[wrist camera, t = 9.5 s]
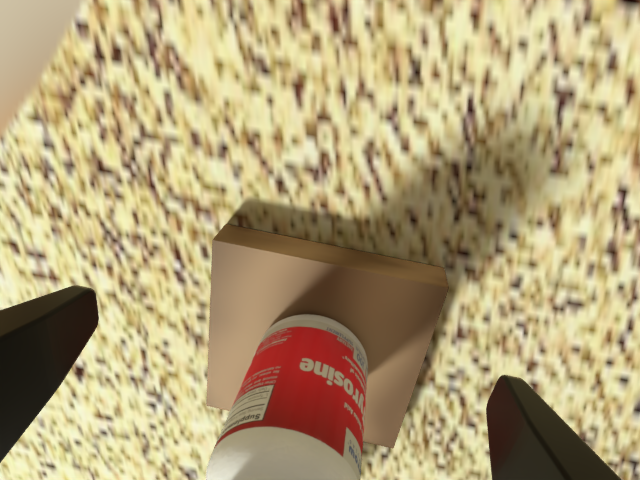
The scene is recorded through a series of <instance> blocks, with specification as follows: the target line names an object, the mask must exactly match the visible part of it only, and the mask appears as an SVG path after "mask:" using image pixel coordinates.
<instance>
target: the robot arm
mask: <svg viewBox="0 0 640 480" xmlns="http://www.w3.org/2000/svg"><path fill="white" fill-rule="evenodd" d="M98 320H99V316H98V308H97V299H96V293H95V291H94V290H93V289H91V288H87V287H82V286H71V287H68V288H65V289H62V290H59V291H56V292H53V293H50V294H47V295H44V296H41V297H39V298H36V299H33V300H30V301H27V302H24V303H21V304H18V305H15V306H12V307H9V308H6V309H3V310H0V462H1V461H2V460H3V459H4V457H5V456H6V455H7V453H8V452H9V451H10V450H11V448H12V447H13V446H14V444H15V443H16V442H17V441H18V439H19V438H20V437H21V435H22V434H23V433H24V432H25V430H26V429H27V428H28V426H29V425H30V424H31V423H32V421H33V420H34V419H35V417H36V416H37V415H38V414H39V412H40V411H41V410H42V408H43V407H44V406H45V405H46V403H47V402H48V401H49V399H50V398H51V397H52V396H53V394H54V393H55V392H56V390H57V389H58V387H59V386H60V385H61V383H62V382H63V380H64V379H65V377H66V376H67V374H68V372H69V371H70V369H71V368H72V366H73V364H74V363H75V361H76V360H77V358H78V356H79V355H80V353H81V352H82V350H83V348H84V347H85V345H86V344H87V342H88V340H89V339H90V337H91V336H92V334H93V333H94V331H95V329H96V327H97V325H98ZM486 415H487V426H488V438H489V449H490V461H491V472H492V480H621V479H620V478H619V477H618V476H617V475H616V474H615V473H614V472H613V471H612V470H611V468H610V467H609V466H608V465H607V464H606V463H605V462H604V461H603V460H602V459H601V458H600V457H599V456H598V455H597V454H596V453H595V452H594V451H593V450H592V449H591V448H590V447H589V446H588V445H587V444H586V443H585V442H584V441H583V440H582V439H581V438H580V437H579V436H578V435H577V434H576V433H575V432H574V431H573V430H572V429H571V428H570V427H569V426H568V425H567V424H566V423H565V422H564V421H563V420H562V419H561V418H560V417H559V416H558V415H557V414H556V413H555V411H554V410H553V409H552V408H551V407H550V406H549V405H548V404H547V403H546V402H545V401H544V400H543V399H542V398H541V397H540V396H539V395H538V394H537V393H536V392H535V391H534V390H533V389H532V388H531V387H530V386H529V385H528V384H527V383H526V382H525V381H524V380H523V379H521V378H517V377H512V376H508V375H502V376H501V377H499V379H498V381H497V383H496V385H495V387H494V389H493V391H492V394H491V396H490V398H489V400H488V403H487V408H486Z"/></svg>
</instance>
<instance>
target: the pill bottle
mask: <svg viewBox="0 0 640 480" xmlns="http://www.w3.org/2000/svg"><path fill="white" fill-rule="evenodd" d="M367 375H368V363H367V356H366V353H365V350H364V348H363V346H362V344H361V343H360V341H359V340H358V338H357V337H356V336H355V335H354V334H353V333H352V332H351V331H350V330H349V329H348V328H346V327H345V326H343V325H342V324H340V323H338V322H337V321H335V320H332V319H330V318H327V317H324V316H320V315H310V314H303V315H295V316H291V317H287V318H285V319H282V320H280V321H278V322H277V323H275V324H274V325H273V326H271V327H270V328H269V329H268V330H267V331H266V333H265V334H264V336H263V337H262V339H261V341H260V343H259V345H258V347H257V350H256V352H255V354H254V357H253V359H252V362H251V364H250V366H249V368H248V371H247V373H246V375H245V378H244V380H243V382H242V385H241V387H240V389H239V392H238V394H237V396H236V399H235V401H234V403H233V406H232V408H231V410H230V413H229V415H228V418H227V420H226V422H225V425H224V427H223V429H222V431H221V434H220V436H219V439H218V441H217V443H216V445H215V447H214V450H213V452H212V454H211V458H210V460H209V463H208V466H207V471H206V480H360V475H361V461H362V448H363V434H364V419H365V406H366V390H367Z"/></svg>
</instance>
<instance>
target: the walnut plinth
mask: <svg viewBox="0 0 640 480" xmlns="http://www.w3.org/2000/svg"><path fill="white" fill-rule="evenodd" d="M448 289H449V287H448V282H447V278H446V274H445V270H444V268H442V267H437V266H432V265H427V264H422V263H417V262H412V261H407V260H402V259H397V258H393V257H388V256H383V255H378V254H373V253H368V252H363V251H358V250H353V249H348V248H343V247H338V246H333V245H328V244H323V243H318V242H313V241H308V240H303V239H298V238H293V237H288V236H283V235H278V234H273V233H268V232H263V231H258V230H253V229H248V228H243V227H238V226H234V225H229V224H226V225H225V226H224V227H223V228H222V229H221V231H220V232H219V233H218V234H217V235H216V236H215V238H214V239H213V242H212V269H211V297H210V325H209V352H208V380H207V406H211V407H215V408H219V409H224V410H228V411H230V410H231V408H232V406H233V403H234V401H235V399H236V396H237V394H238V392H239V389H240V387H241V385H242V382H243V380H244V378H245V375H246V373H247V371H248V368H249V366H250V364H251V362H252V359H253V357H254V354H255V352H256V350H257V347H258V345H259V343H260V341H261V339H262V337H263V336H264V334H265V333H266V331H267V330H268V329H269V328H270V327H271V326H273V325H274V324H275V323H277V322H278V321H280V320H282V319H285V318H287V317H291V316H295V315H303V314H310V315H320V316H324V317H327V318H330V319H332V320H335V321H337V322H338V323H340V324H342V325H343V326H345V327H346V328H348V329H349V330H350V331H351V332H352V333H353V334H354V335H355V336H356V337H357V338H358V340H359V341H360V343H361V344H362V346H363V348H364V350H365V353H366V356H367V363H368V375H367V390H366V406H365V419H364V434H363V442H368V443H372V444H376V445H381V446H385V447H390V448H394V445H395V442H396V439H397V436H398V433H399V430H400V428H401V425H402V422H403V419H404V416H405V413H406V410H407V407H408V404H409V402H410V399H411V396H412V393H413V390H414V387H415V384H416V381H417V378H418V376H419V373H420V370H421V367H422V364H423V361H424V358H425V355H426V353H427V350H428V347H429V344H430V341H431V338H432V335H433V332H434V329H435V327H436V324H437V321H438V318H439V315H440V312H441V309H442V306H443V304H444V301H445V298H446V295H447V292H448Z"/></svg>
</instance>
